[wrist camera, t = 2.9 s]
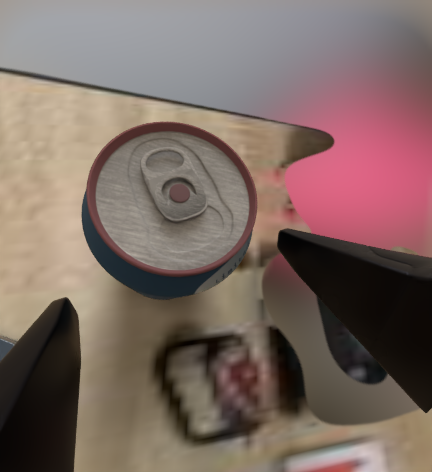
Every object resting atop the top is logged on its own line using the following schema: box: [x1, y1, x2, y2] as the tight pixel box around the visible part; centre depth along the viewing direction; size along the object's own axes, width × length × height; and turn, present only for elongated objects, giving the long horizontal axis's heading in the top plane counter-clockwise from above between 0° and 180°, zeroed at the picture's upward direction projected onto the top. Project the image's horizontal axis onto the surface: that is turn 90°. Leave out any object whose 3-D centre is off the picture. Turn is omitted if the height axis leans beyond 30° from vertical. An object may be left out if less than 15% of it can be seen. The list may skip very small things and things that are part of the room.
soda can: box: [82, 122, 257, 300], centre depth 13 cm, size 7×7×12 cm
